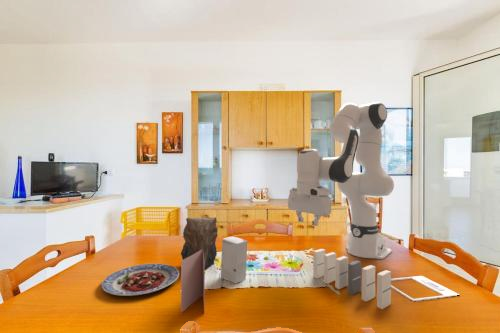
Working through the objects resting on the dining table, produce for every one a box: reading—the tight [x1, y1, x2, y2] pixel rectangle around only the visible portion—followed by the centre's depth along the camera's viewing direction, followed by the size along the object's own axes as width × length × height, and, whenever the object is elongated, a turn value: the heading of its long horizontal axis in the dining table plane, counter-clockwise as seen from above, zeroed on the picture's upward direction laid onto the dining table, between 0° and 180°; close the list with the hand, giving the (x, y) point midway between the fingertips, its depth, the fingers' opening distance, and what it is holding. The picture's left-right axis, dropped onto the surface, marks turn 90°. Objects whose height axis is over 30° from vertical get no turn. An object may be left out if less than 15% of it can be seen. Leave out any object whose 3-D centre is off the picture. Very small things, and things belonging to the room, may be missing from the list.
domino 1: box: [312, 248, 326, 279], centre depth 100 cm, size 2×5×10 cm, turn 125°
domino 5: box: [361, 264, 376, 303], centre depth 84 cm, size 2×5×10 cm, turn 125°
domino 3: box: [334, 255, 349, 290], centre depth 92 cm, size 2×5×10 cm, turn 125°
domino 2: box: [323, 251, 337, 284], centre depth 96 cm, size 2×5×10 cm, turn 125°
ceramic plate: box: [101, 263, 180, 297], centre depth 94 cm, size 26×26×3 cm
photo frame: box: [391, 275, 460, 303], centre depth 91 cm, size 15×1×18 cm
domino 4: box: [347, 260, 362, 296], centre depth 88 cm, size 2×5×10 cm, turn 125°
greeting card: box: [180, 249, 206, 313], centre depth 79 cm, size 11×7×15 cm, turn 157°
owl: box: [180, 216, 218, 271], centre depth 111 cm, size 13×13×20 cm
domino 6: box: [376, 269, 392, 310], centre depth 80 cm, size 2×5×10 cm, turn 125°
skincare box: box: [220, 236, 248, 284], centre depth 98 cm, size 8×6×15 cm
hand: (307, 223), depth 105 cm, fingers open, 6 cm apart
